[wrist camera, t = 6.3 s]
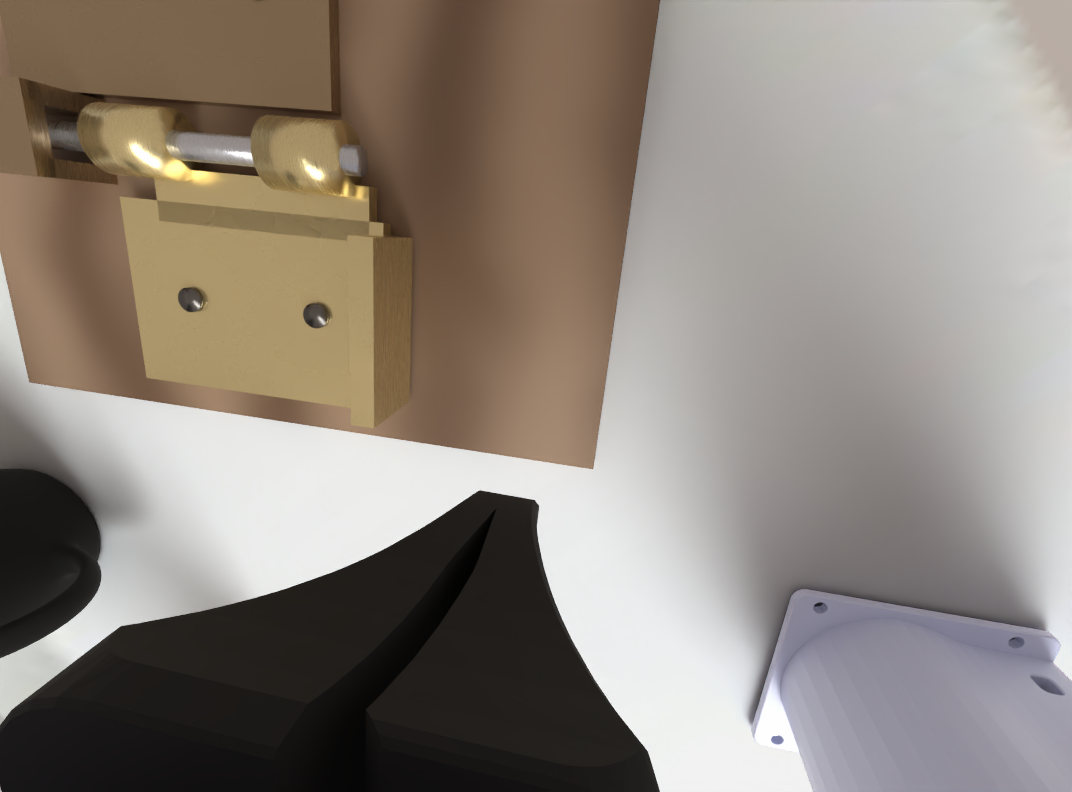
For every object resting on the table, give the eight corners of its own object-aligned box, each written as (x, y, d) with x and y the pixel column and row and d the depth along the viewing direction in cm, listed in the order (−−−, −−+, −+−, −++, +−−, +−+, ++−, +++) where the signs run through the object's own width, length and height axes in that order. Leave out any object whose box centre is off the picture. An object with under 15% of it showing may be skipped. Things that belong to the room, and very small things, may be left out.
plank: (687, -197, 14) (691, -221, 13) (594, 460, 20) (593, 469, 19) (-72, -194, 17) (-105, -214, 16) (48, 377, 23) (29, 382, 22)
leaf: (74, 361, 21) (-9, 380, 18) (24, 102, 18) (-84, 77, 16) (409, 410, 20) (373, 439, 17) (414, 132, 17) (372, 110, 14)
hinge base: (49, 177, 19) (-41, 168, 17) (-13, -154, 16) (-135, -229, 14) (342, 206, 18) (295, 201, 15) (335, -151, 15) (273, -235, 12)
